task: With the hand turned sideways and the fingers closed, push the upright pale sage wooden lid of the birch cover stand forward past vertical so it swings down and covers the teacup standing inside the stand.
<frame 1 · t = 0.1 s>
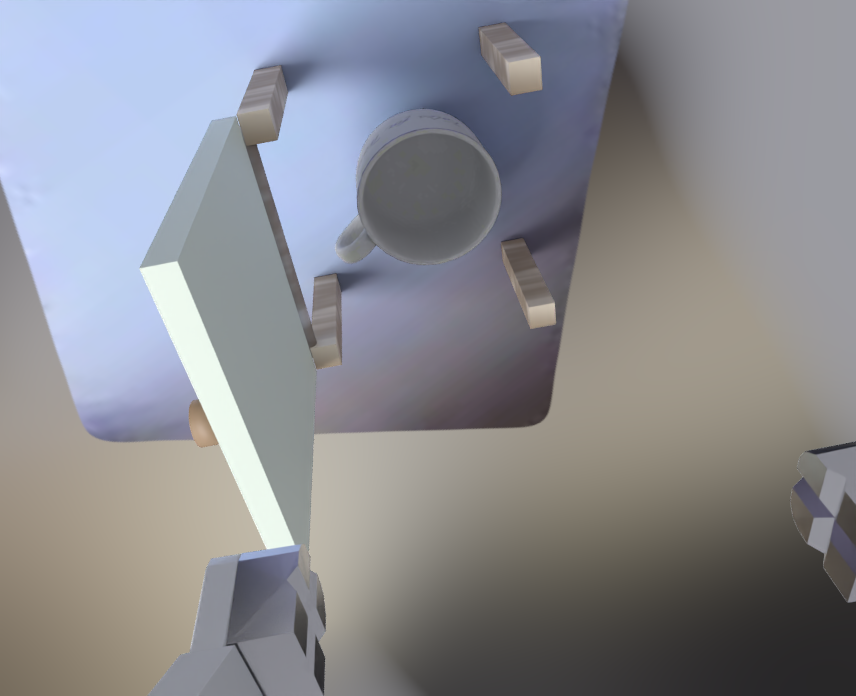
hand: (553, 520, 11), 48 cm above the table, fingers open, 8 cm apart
lid: (244, 339, 41), point 21 cm above the table, hinge at 90.0°
cover stand: (402, 173, 58), on the table
teacup: (402, 172, 58), on the table
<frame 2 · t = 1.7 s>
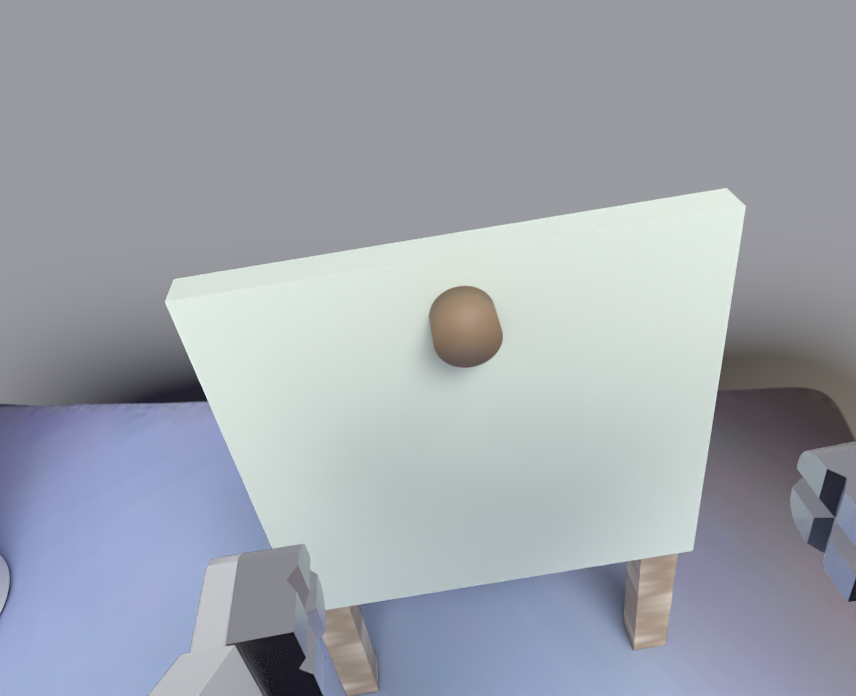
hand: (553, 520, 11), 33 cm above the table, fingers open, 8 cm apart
lid: (479, 450, 29), point 21 cm above the table, hinge at 90.0°
cover stand: (482, 545, 51), on the table
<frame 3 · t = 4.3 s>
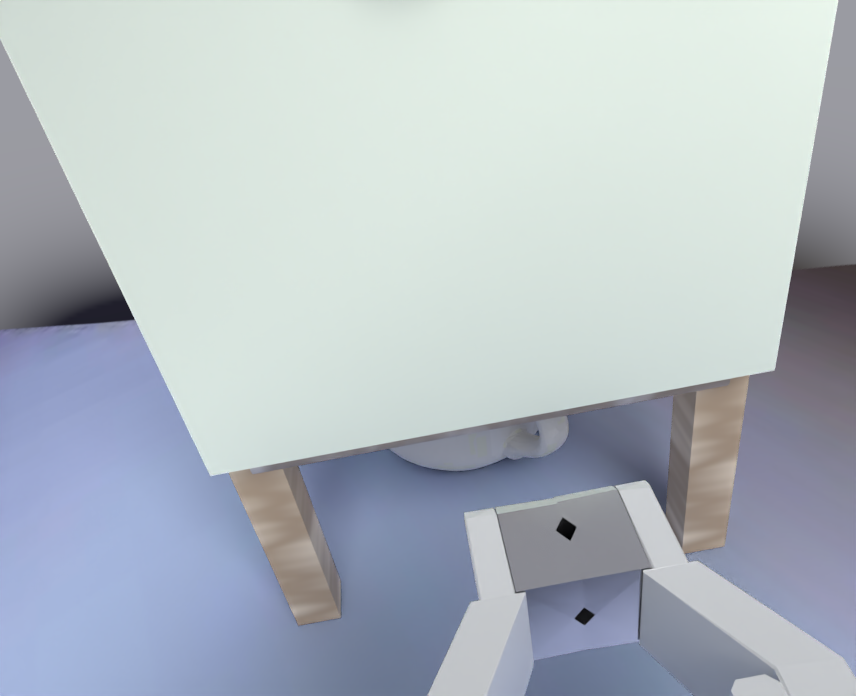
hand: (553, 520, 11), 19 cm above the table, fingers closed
lid: (456, 163, 19), point 21 cm above the table, hinge at 90.0°
cover stand: (477, 445, 40), on the table
teacup: (478, 448, 40), on the table
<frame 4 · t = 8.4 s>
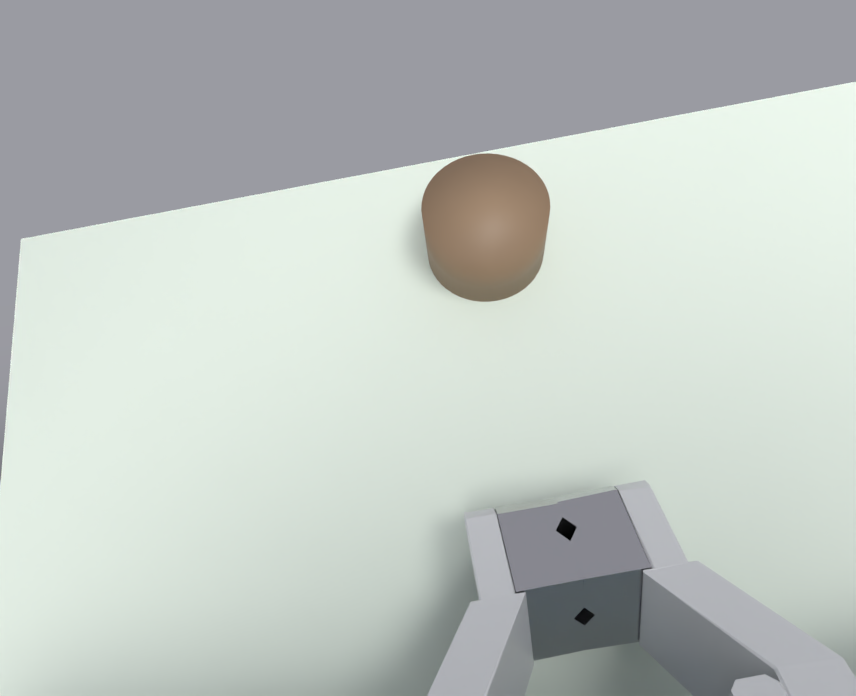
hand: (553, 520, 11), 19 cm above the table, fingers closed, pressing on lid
lid: (570, 603, 12), point 18 cm above the table, hinge at 30.4°, touching gripper
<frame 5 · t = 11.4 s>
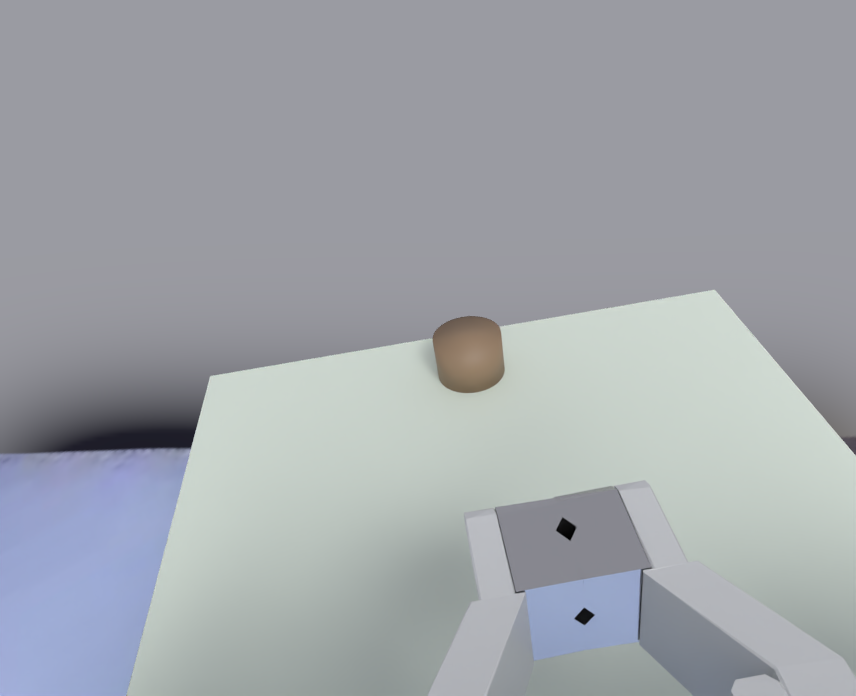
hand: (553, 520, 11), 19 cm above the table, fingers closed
lid: (507, 520, 19), point 13 cm above the table, hinge at -0.1°
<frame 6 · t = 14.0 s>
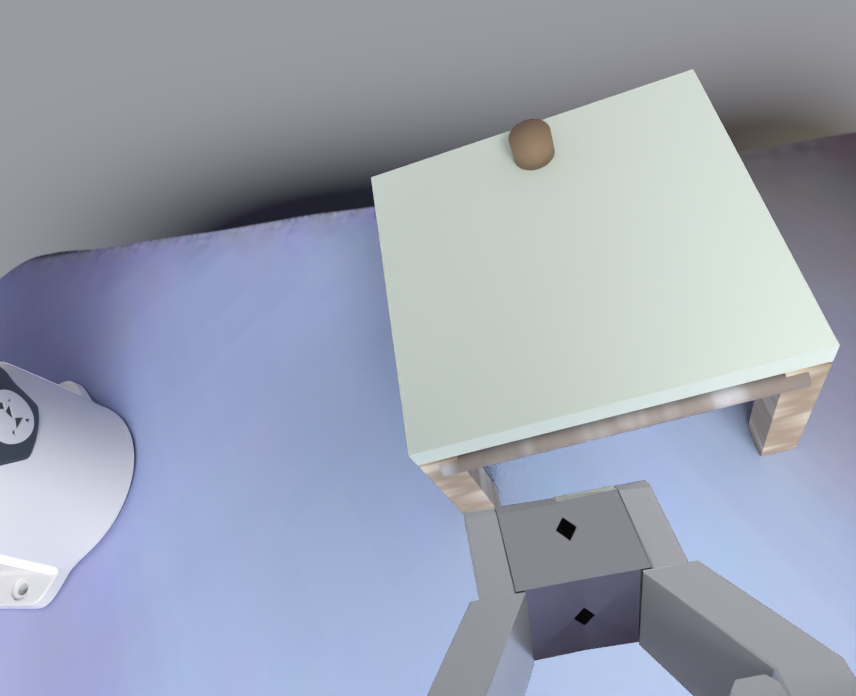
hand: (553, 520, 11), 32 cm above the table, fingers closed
lid: (562, 245, 37), point 13 cm above the table, hinge at -0.1°
cover stand: (587, 356, 48), on the table
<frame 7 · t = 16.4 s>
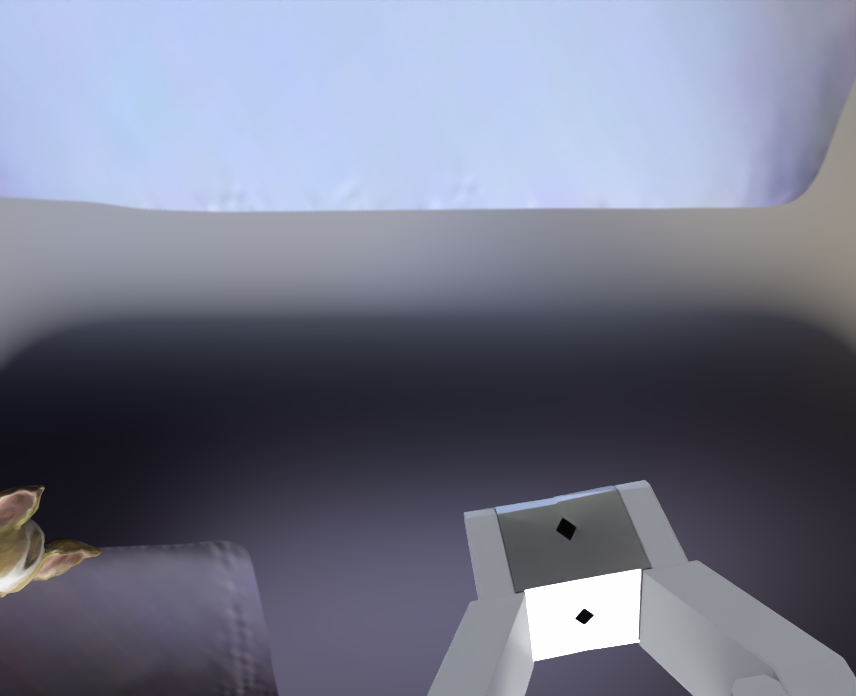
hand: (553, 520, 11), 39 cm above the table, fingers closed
ceramic sculpture: (7, 521, 64), on the table
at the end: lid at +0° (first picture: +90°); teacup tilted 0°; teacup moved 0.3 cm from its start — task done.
